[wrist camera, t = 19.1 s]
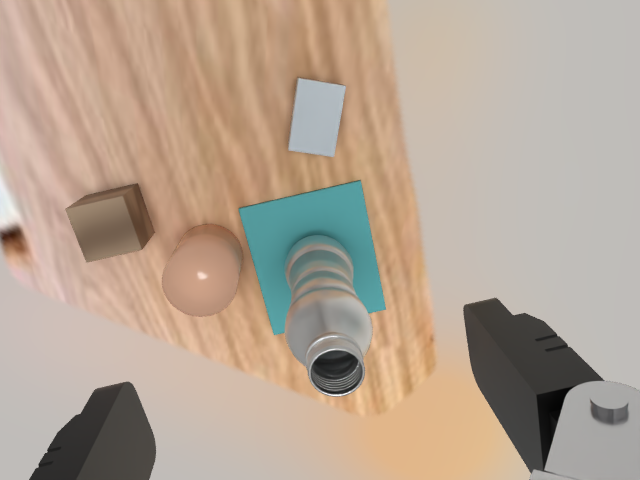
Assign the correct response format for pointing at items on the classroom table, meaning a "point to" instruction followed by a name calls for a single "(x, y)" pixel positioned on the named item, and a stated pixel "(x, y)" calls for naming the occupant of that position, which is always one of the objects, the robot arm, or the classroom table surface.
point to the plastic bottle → (326, 315)
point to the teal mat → (306, 220)
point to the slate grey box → (316, 117)
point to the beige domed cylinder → (203, 271)
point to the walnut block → (111, 222)
